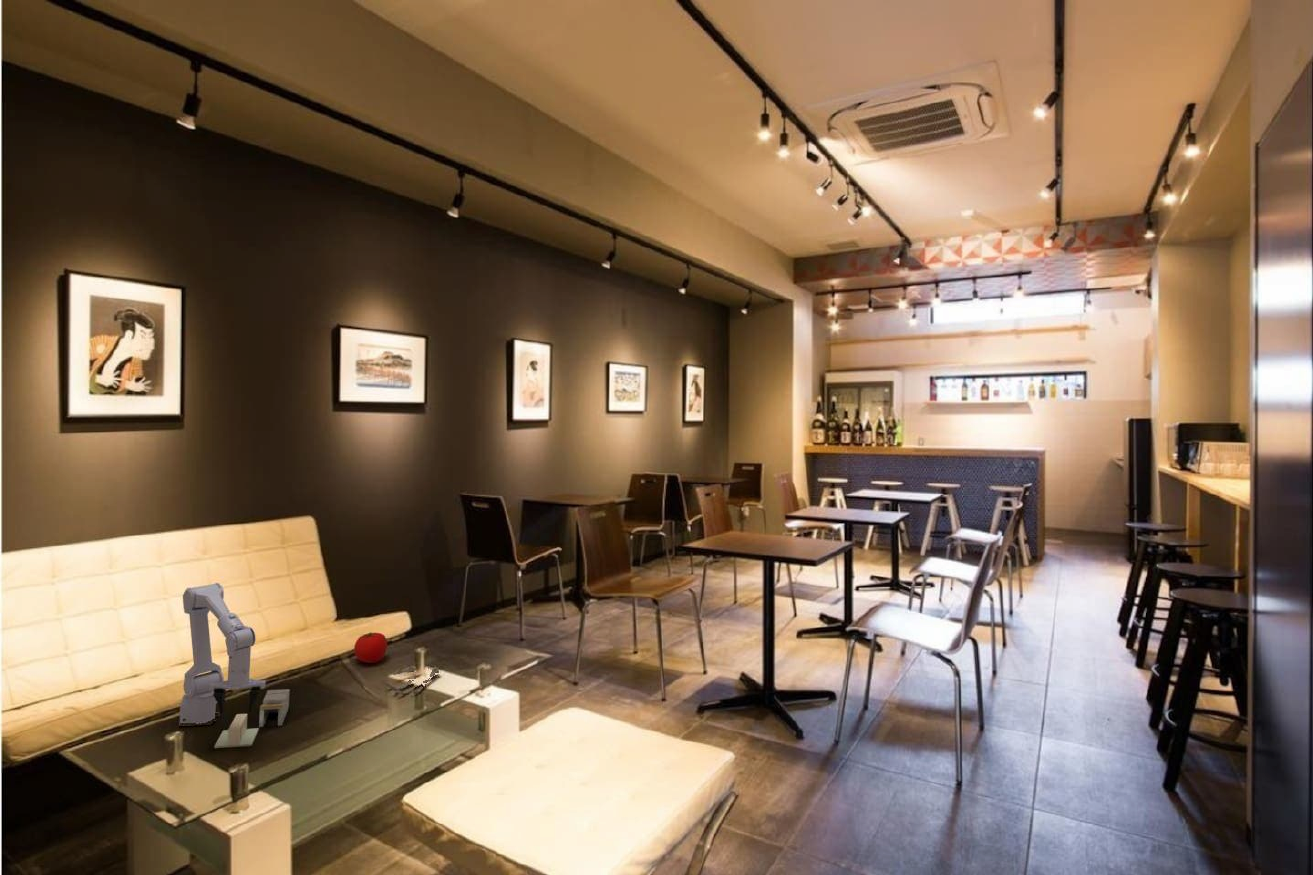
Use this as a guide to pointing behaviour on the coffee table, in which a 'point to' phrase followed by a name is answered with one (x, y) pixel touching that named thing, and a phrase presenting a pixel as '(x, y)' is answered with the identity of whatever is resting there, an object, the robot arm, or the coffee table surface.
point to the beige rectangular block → (237, 729)
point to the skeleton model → (408, 670)
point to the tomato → (370, 647)
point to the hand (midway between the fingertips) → (236, 711)
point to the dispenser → (274, 705)
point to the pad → (245, 741)
